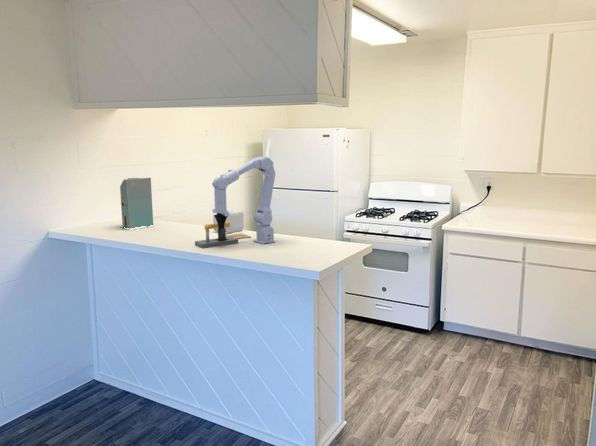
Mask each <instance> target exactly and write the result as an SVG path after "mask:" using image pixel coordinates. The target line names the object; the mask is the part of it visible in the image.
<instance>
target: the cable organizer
mask: <svg viewBox="0 0 596 446" xmlns="http://www.w3.org/2000/svg"><path fill="white" fill-rule="evenodd" d="M227 211H228V212H229V216H228V217H227V219H226V221H225V223H230V227H224V228H226V234H233V233H234V232H236V233H240V232H242V231H243V229H244V227H245V224H244V223H245V219H244V217H245V215H244V212H243V211H241V210H239V211H233V210H230V209H229V210H227ZM214 215H217V213H213V215H212V218H213V219H212V220H213V221H212V222H213V223H212V224H217V221H216V218H215V217H214ZM213 231H214V232H218V228H215V229H213Z"/></svg>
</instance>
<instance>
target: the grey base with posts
mask: <svg viewBox="0 0 596 446" xmlns="http://www.w3.org/2000/svg"><path fill="white" fill-rule="evenodd" d="M234 244H239V239H235V238H233V237H226V240H225V241H218V237H217V238H210V229H205V239H203V240H195V241H194V246H196V247H198V248H200V249H206V248H214V247H221V246H228V245H229V246H230V245H234Z"/></svg>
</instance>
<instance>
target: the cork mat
mask: <svg viewBox="0 0 596 446" xmlns="http://www.w3.org/2000/svg"><path fill="white" fill-rule="evenodd" d="M226 237H233V238H235V239H238V240H243V239H251V238H252V237H251V236H250V235H248V234H244V233H235V234H233V233H232V234H226Z"/></svg>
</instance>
